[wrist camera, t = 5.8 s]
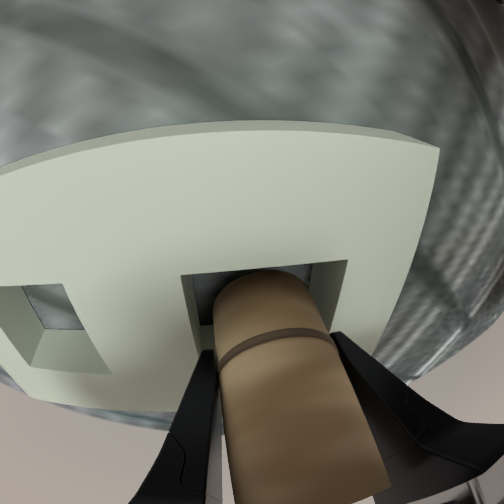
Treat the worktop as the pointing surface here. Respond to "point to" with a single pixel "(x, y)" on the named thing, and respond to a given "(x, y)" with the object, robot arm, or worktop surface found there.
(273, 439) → the peg
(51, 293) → the worktop surface
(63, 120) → the worktop surface
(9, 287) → the board
